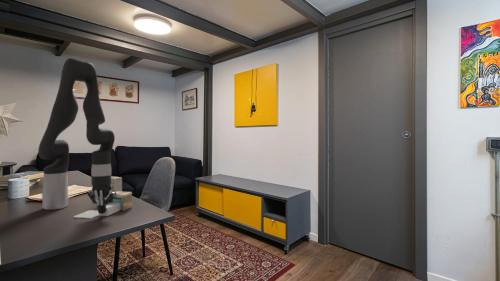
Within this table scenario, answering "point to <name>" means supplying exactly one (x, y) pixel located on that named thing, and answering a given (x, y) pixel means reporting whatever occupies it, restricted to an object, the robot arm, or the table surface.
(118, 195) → the tunnel
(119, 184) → the supplement box
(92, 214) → the mat
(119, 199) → the block
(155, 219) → the table surface
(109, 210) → the light grey rectangular block
